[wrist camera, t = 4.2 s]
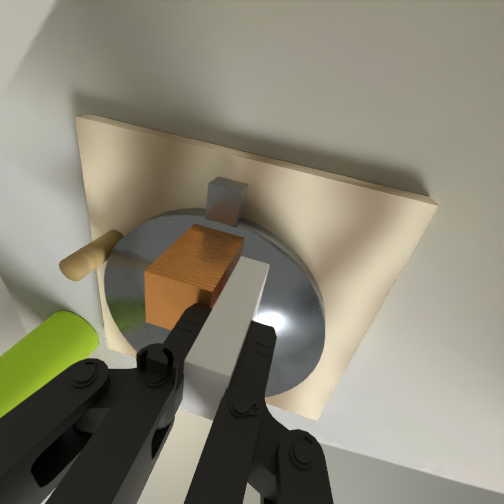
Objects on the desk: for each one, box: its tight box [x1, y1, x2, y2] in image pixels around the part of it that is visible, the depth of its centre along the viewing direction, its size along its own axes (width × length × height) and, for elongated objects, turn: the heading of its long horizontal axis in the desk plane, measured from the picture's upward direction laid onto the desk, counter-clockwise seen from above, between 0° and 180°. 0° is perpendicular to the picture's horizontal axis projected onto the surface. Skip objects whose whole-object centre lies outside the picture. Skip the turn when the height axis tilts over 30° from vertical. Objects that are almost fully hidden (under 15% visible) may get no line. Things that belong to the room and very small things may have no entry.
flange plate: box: [104, 176, 326, 397], centre depth 18 cm, size 18×16×6 cm
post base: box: [59, 114, 439, 421], centre depth 21 cm, size 22×22×6 cm
